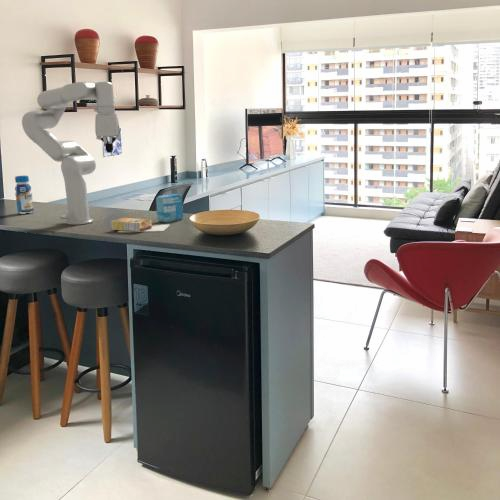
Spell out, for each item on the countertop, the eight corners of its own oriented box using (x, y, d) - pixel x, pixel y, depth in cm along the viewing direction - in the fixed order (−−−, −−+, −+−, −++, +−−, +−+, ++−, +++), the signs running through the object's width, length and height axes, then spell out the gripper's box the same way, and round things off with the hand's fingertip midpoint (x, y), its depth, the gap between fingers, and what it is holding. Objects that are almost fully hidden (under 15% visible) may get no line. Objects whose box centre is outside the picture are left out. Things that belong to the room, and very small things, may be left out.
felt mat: (117, 232, 255) (117, 231, 254) (126, 226, 269) (126, 225, 269) (163, 231, 253) (163, 230, 253) (170, 224, 268) (170, 224, 268)
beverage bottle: (22, 212, 323) (18, 175, 318) (37, 211, 322) (32, 175, 317) (14, 214, 315) (9, 177, 310) (29, 214, 313) (25, 176, 309)
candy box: (123, 217, 265) (151, 218, 259) (124, 226, 266) (152, 228, 260) (110, 220, 258) (139, 222, 251) (111, 230, 258) (140, 232, 252)
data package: (163, 222, 274) (161, 197, 271) (157, 221, 277) (155, 196, 275) (183, 219, 282) (182, 194, 280) (177, 218, 285) (176, 193, 283)
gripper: (86, 111, 259) (90, 153, 263) (120, 110, 258) (123, 152, 262) (92, 111, 266) (96, 152, 270) (124, 110, 265) (128, 151, 269)
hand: (109, 152), depth 266 cm, fingers closed
